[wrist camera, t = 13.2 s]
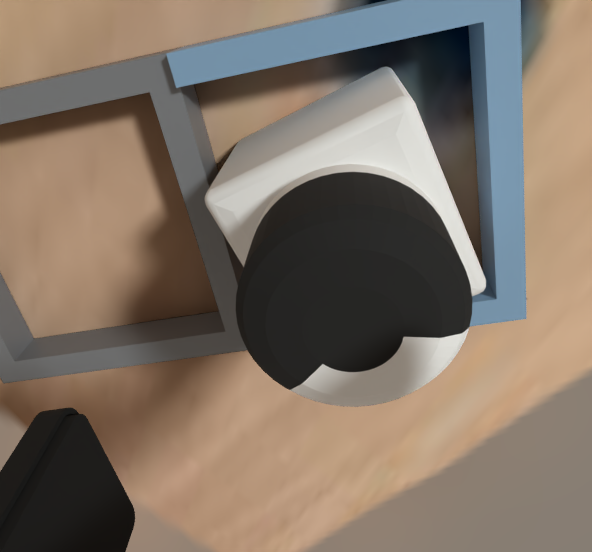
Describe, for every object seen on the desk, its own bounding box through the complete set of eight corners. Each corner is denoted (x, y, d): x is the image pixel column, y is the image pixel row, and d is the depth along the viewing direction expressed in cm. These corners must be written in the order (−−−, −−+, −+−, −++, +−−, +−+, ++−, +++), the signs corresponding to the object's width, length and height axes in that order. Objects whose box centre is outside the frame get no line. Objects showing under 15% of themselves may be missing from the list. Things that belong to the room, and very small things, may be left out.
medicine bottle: (234, 141, 24) (152, 269, 13) (389, 61, 22) (441, 135, 11) (308, 274, 26) (291, 469, 16) (451, 213, 24) (540, 389, 14)
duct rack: (-109, 112, 24) (-154, 125, 22) (499, -26, 20) (519, -26, 18) (23, 359, 30) (-2, 389, 28) (510, 290, 26) (526, 318, 24)
